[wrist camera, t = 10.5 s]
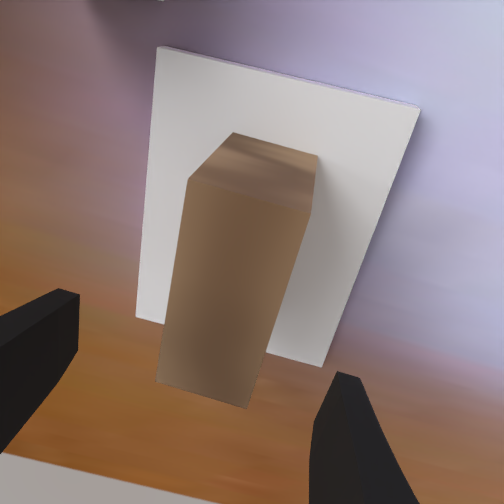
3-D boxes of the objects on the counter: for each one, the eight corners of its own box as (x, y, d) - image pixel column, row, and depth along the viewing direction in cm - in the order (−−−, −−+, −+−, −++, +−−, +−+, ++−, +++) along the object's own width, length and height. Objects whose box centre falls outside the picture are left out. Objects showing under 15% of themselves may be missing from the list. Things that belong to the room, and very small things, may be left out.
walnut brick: (199, 292, 21) (155, 381, 15) (232, 132, 17) (187, 178, 12) (268, 312, 21) (246, 409, 15) (317, 155, 17) (311, 213, 11)
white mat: (143, 305, 23) (135, 316, 22) (166, 45, 17) (156, 47, 16) (322, 354, 22) (321, 367, 22) (416, 105, 16) (420, 109, 15)
